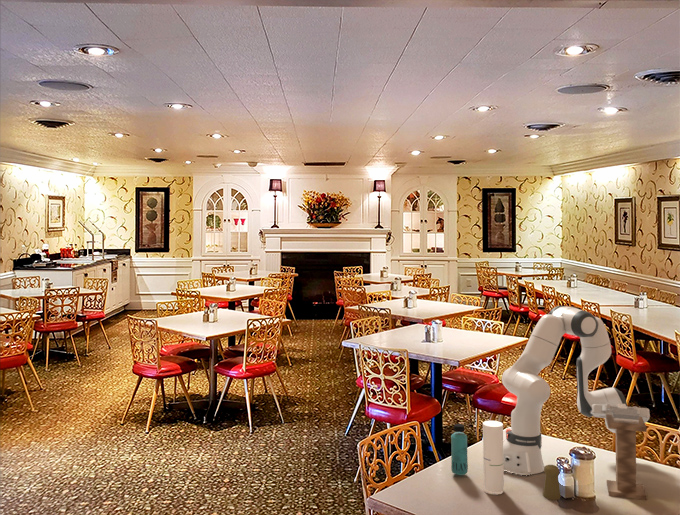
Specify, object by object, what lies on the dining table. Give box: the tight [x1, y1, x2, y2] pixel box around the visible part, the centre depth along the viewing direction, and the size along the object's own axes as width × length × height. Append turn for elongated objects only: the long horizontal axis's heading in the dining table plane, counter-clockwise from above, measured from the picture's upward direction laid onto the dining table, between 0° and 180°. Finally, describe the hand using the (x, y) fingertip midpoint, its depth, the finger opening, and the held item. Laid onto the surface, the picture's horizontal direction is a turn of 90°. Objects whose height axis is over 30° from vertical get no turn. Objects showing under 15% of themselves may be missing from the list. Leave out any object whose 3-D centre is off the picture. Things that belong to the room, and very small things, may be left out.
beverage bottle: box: [450, 423, 469, 476], centre depth 223 cm, size 6×7×20 cm
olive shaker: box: [542, 464, 562, 501], centre depth 203 cm, size 6×6×11 cm
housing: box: [612, 403, 639, 424], centre depth 210 cm, size 8×18×3 cm, turn 159°
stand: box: [606, 414, 648, 501], centre depth 205 cm, size 12×12×26 cm
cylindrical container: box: [482, 420, 505, 492], centre depth 208 cm, size 7×7×25 cm
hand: (621, 407), depth 216 cm, fingers open, 8 cm apart
